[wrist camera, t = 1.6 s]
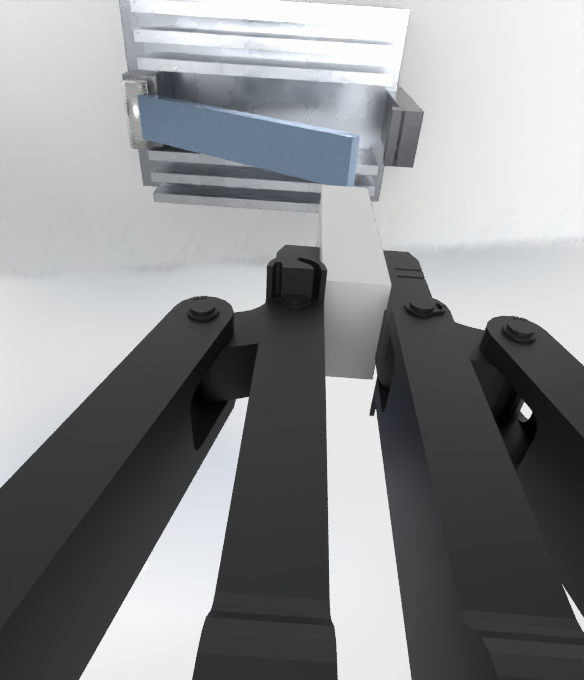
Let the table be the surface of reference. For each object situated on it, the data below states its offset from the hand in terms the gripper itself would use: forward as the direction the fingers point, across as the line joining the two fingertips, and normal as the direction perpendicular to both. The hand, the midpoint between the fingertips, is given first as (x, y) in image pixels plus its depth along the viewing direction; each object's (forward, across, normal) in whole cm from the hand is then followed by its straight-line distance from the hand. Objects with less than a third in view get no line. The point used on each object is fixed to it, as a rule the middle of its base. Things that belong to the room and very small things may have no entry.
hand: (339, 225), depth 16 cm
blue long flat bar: (+12, -5, 0) cm, 13 cm away
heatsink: (+22, -5, 0) cm, 23 cm away
